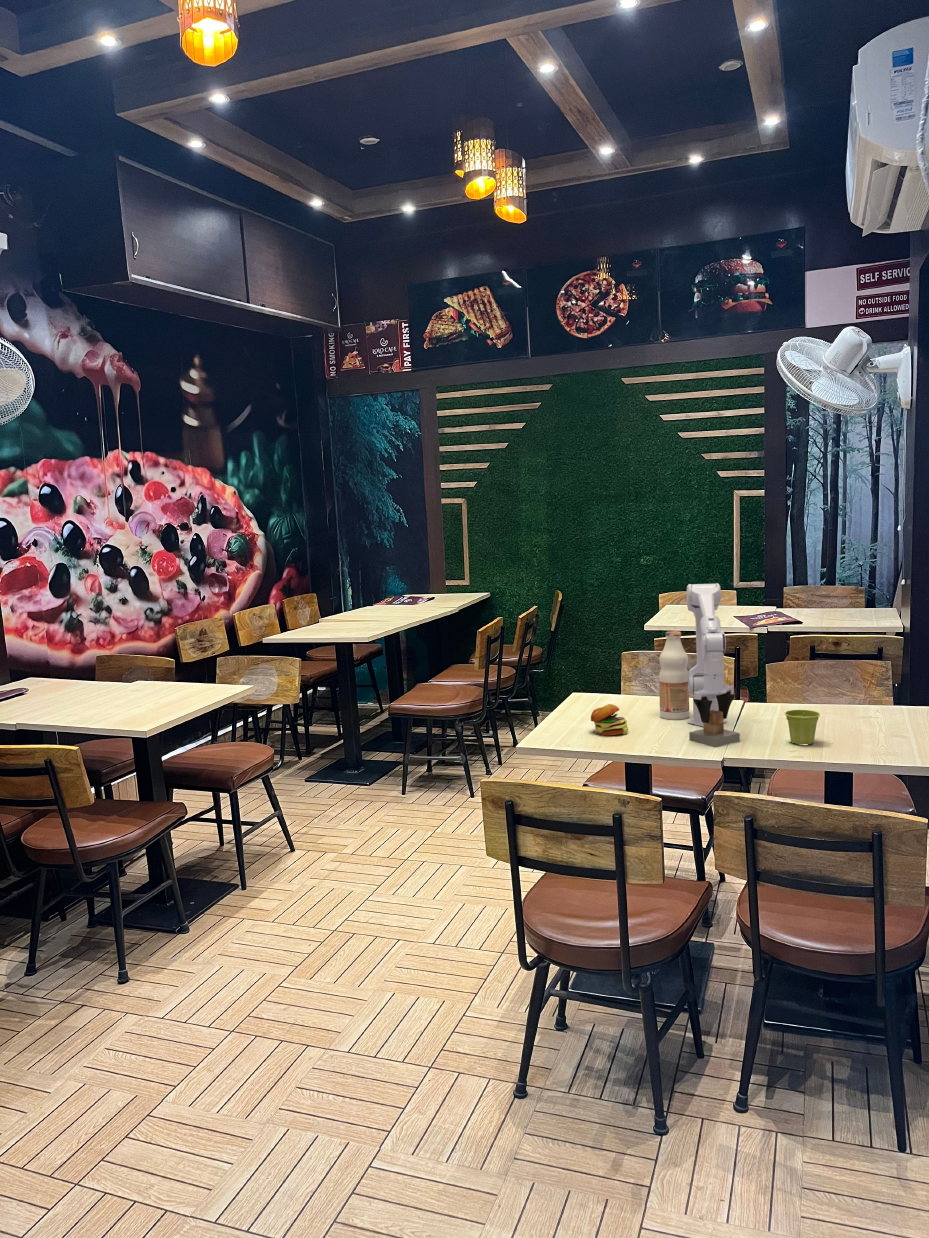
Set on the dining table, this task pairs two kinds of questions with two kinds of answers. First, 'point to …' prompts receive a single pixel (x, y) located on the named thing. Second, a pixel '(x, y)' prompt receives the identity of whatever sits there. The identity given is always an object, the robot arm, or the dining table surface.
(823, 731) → the dining table surface
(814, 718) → the plant pot
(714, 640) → the robot arm
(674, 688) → the fruit juice
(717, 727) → the walnut block
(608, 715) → the cheeseburger
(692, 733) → the slate base
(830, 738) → the dining table surface
